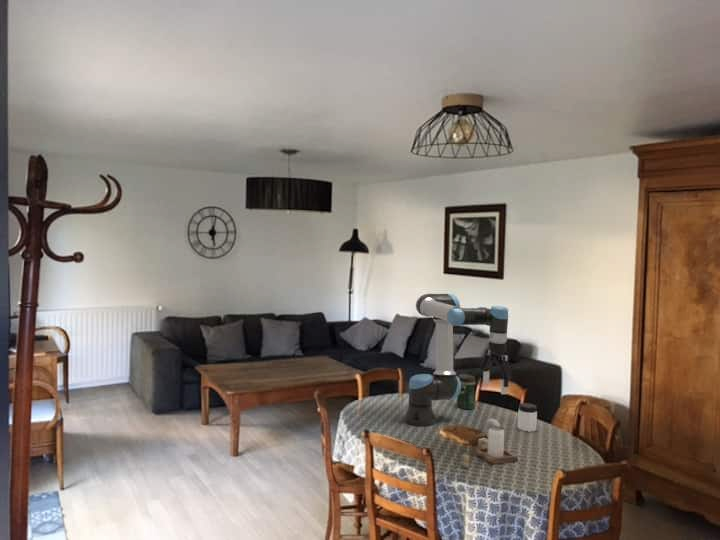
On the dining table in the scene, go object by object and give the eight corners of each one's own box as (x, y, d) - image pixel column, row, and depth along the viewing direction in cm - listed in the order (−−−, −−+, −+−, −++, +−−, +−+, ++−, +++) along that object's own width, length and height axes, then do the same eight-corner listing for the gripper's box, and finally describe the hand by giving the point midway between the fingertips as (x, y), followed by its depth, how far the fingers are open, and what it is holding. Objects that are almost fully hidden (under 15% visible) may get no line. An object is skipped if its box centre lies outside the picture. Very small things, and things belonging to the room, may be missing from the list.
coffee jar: (477, 408, 313) (478, 375, 312) (466, 410, 308) (468, 377, 308) (464, 404, 321) (465, 372, 320) (454, 406, 316) (455, 373, 315)
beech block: (478, 448, 249) (478, 439, 249) (483, 446, 252) (483, 437, 251) (485, 451, 246) (486, 441, 246) (491, 449, 249) (491, 440, 248)
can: (485, 453, 241) (486, 425, 241) (500, 453, 242) (501, 425, 241) (490, 458, 235) (491, 430, 234) (505, 458, 235) (506, 430, 235)
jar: (527, 433, 273) (528, 408, 272) (514, 428, 280) (515, 404, 279) (539, 430, 278) (540, 406, 277) (526, 425, 285) (527, 402, 284)
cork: (459, 465, 228) (459, 454, 228) (466, 464, 229) (466, 453, 229) (463, 468, 225) (464, 457, 225) (470, 467, 226) (471, 456, 226)
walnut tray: (473, 453, 242) (473, 449, 242) (498, 450, 247) (498, 446, 247) (491, 464, 230) (491, 459, 230) (517, 461, 235) (517, 456, 235)
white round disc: (502, 443, 256) (503, 421, 256) (496, 444, 255) (497, 422, 254) (488, 436, 265) (489, 415, 265) (482, 437, 264) (483, 416, 263)
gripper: (474, 336, 256) (471, 382, 258) (508, 347, 233) (504, 398, 235) (488, 336, 259) (485, 381, 260) (522, 347, 236) (519, 397, 237)
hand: (494, 389), depth 247 cm, fingers open, 13 cm apart
